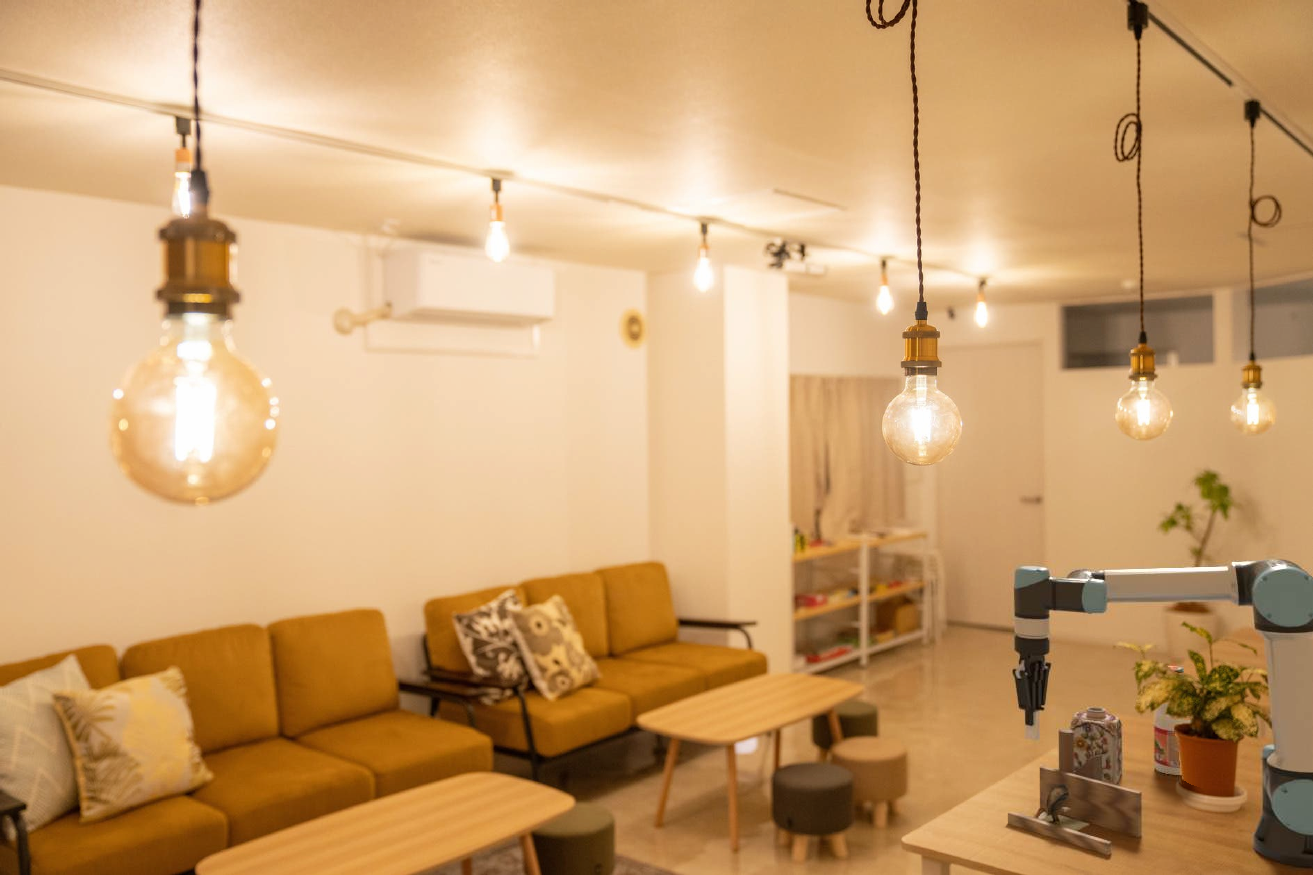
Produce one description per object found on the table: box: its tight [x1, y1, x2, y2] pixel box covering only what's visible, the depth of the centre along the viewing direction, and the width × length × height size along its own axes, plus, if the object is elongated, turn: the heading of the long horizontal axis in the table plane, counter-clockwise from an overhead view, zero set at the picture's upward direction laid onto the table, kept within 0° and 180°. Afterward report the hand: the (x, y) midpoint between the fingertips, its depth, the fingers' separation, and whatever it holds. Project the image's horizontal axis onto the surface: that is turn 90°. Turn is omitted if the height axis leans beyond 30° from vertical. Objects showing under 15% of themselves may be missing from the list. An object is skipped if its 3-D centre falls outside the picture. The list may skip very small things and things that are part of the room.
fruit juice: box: [1153, 665, 1190, 775], centre depth 276 cm, size 9×9×28 cm
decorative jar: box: [1069, 706, 1123, 785], centre depth 273 cm, size 12×12×18 cm
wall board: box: [1007, 765, 1143, 856], centre depth 237 cm, size 24×16×10 cm, turn 40°
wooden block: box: [1058, 728, 1102, 781], centre depth 251 cm, size 4×11×18 cm, turn 32°
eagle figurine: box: [1038, 784, 1071, 826], centre depth 239 cm, size 8×7×9 cm
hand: (1032, 738), depth 233 cm, fingers closed
